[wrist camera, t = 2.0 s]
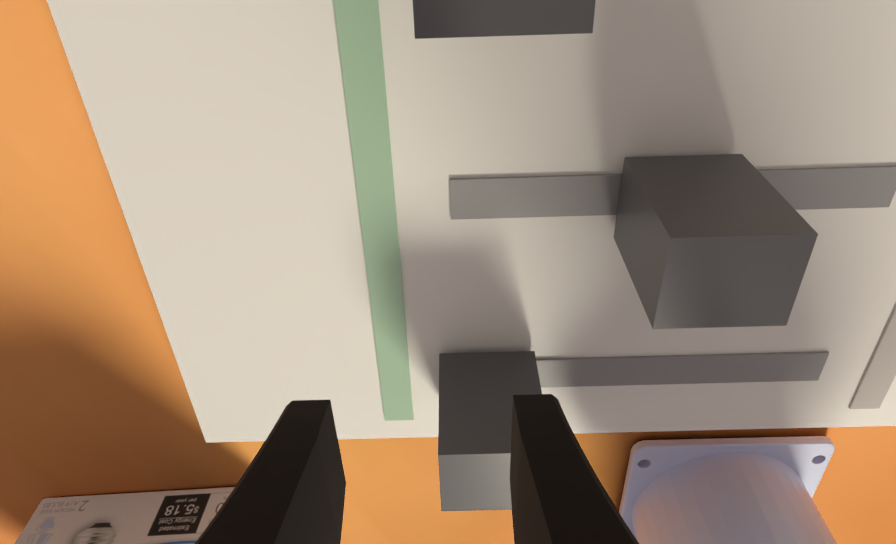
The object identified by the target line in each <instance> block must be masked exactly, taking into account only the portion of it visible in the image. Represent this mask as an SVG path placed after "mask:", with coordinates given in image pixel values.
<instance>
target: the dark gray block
mask: <svg viewBox="0 0 896 544" xmlns="http://www.w3.org/2000/svg"><path fill="white" fill-rule="evenodd" d="M817 236H818V233H817V232H816V231H815V230H814V229H813V228H812V227H811V226H810V225H809V224H808V223H807V222H806V221H805V220H804V219H803V217H802V216H801V215H800V214H799V213H798V212H797V211H796V210H795V209H794V208H793V207H792V206H791V205H790V204H789V203H788V202H787V201H786V200H785V199H784V197H783V196H782V195H781V194H780V193H779V192H778V191H777V190H776V189H775V188H774V187H773V186H772V185H771V184H770V183H769V182H768V181H767V180H766V179H765V177H764V176H763V175H762V174H761V173H760V172H759V171H758V170H757V169H756V168H755V167H754V166H753V165H752V164H751V163H750V162H749V161H748V160H747V159H746V157H745V156H744V155H743V154H719V155H685V156H650V157H625V158H624V165H623V172H622V179H621V187H620V194H619V201H618V209H617V216H616V223H615V230H614V240H615V242H616V244H617V247H618V249H619V251H620V254H621V256H622V258H623V261H624V263H625V265H626V268H627V270H628V272H629V275H630V277H631V279H632V282H633V284H634V286H635V289H636V291H637V293H638V296H639V298H640V300H641V303H642V305H643V307H644V310H645V312H646V314H647V317H648V319H649V321H650V324H651V326H652V328H653V329H675V328H713V327H751V326H786V325H787V322H788V319H789V317H790V314H791V311H792V308H793V305H794V302H795V299H796V296H797V294H798V291H799V288H800V285H801V282H802V279H803V276H804V273H805V270H806V268H807V265H808V262H809V259H810V256H811V253H812V250H813V247H814V245H815V242H816V239H817Z"/></svg>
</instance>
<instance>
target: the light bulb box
mask: <svg viewBox="0 0 896 544" xmlns="http://www.w3.org/2000/svg"><path fill="white" fill-rule="evenodd" d="M234 488H235V487H223V488H208V489H191V490H173V491H157V492H140V493H123V494H106V495H89V496H71V497H55V498H44V499H42V501H41V502H40V504H39V505H38V507H37V508H36V510H35V512H34V513H33V515H32V516H31V518H30V520H29V521H28V523H27V525H26V526H25V528H24V530H23V531H22V533H21V534H20V536H19V537H18V539H17V541H16V542H15V544H195V542H196V541H197V540H198V538H199V537H200V536H201V534H202V533H203V532H204V531H205V529H206V528H207V526H208V525H209V524H210V522H211V521H212V520H213V518H214V517H215V515H216V514H217V512H218V511H219V509H220V508H221V507H222V505H223V504H224V502H225V501H226V499H227V498H228V496H229V495H230V494H231V492H232V491H233V489H234Z"/></svg>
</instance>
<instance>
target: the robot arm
mask: <svg viewBox="0 0 896 544" xmlns="http://www.w3.org/2000/svg"><path fill="white" fill-rule="evenodd" d="M834 450H835V446H834V444H833V443H832V441H831V440H830V438H828V437H826V436H797V437H756V438H715V439H674V440H643V441H639V442H637V443H636V444H635V445H633V447H632V449H631V454H630V459H629V464H628V469H627V474H626V479H625V484H624V489H623V494H622V499H621V504H620V509H619V512H618V510H617V508H616V507H615V505H614V504H613V502H612V500H611V499H610V497H609V495H608V494H607V492H606V491H605V489H604V487H603V486H602V484H601V482H600V481H599V479H598V477H597V476H596V474H595V472H594V470H593V469H592V467H591V465H590V463H589V461H588V460H587V458H586V456H585V454H584V452H583V450H582V449H581V447H580V445H579V443H578V441H577V439H576V437H575V435H574V433H573V431H572V429H571V427H570V425H569V423H568V421H567V419H566V417H565V414H564V412H563V410H562V408H561V405H560V403H559V400H558V399H557V398H556V397H555V396H554V395H552V394H532V395H513V406H512V431H511V456H510V490H511V504H512V516H513V529H514V541H515V544H837V543H836V541H835V540H834V538H833V536H832V534H831V532H830V531H829V529H828V527H827V525H826V523H825V522H824V520H823V518H822V516H821V515H820V513H819V511H818V509H817V507H816V506H815V504H814V502H813V500H812V497H813V495H814V493H815V491H816V488H817V486H818V484H819V482H820V480H821V478H822V476H823V473H824V471H825V469H826V467H827V465H828V463H829V461H830V459H831V456H832V454H833V452H834ZM345 486H346V481H345V476H344V471H343V465H342V460H341V454H340V449H339V444H338V438H337V433H336V428H335V422H334V417H333V412H332V406H331V401H330V400H295V401H291V402H290V403H289V404H288V405H287V406H286V407H285V409H284V411H283V412H282V414H281V416H280V417H279V419H278V421H277V422H276V424H275V426H274V427H273V429H272V431H271V432H270V434H269V436H268V437H267V439H266V440H265V442H264V444H263V445H262V447H261V448H260V450H259V452H258V453H257V455H256V456H255V458H254V459H253V461H252V462H251V464H250V465H249V467H248V469H247V470H246V472H245V473H244V475H243V476H242V478H241V479H240V481H239V482H238V483H237V485H236V486H235V488H234V489H233V491H232V492H231V494H230V495H229V496H228V498H227V499H226V501H225V502H224V504H223V505H222V507H221V508H220V509H219V511H218V512H217V514H216V515H215V517H214V518H213V520H212V521H211V522H210V524H209V525H208V526H207V528H206V529H205V531H204V532H203V533H202V534H201V536H200V537H199V538H198V540H197V541H196V542H195V544H340V540H341V530H342V520H343V509H344V497H345Z"/></svg>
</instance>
